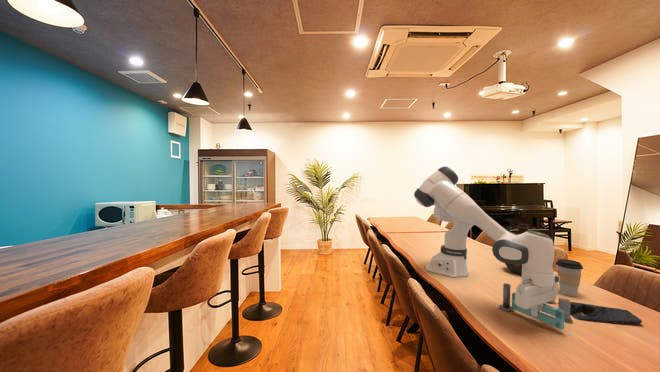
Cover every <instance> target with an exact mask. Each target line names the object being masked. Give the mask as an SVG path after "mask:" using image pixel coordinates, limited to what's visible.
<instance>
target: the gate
mask: <svg viewBox="0 0 660 372" xmlns="http://www.w3.org/2000/svg"><path fill="white" fill-rule="evenodd" d="M515 294H516V292H513V293H511V307H512V309H514V311H516V312H519V313H521V314H524V315H525V316H529V317H531V318H533V319H536V320H537V321H540V322H542V323H545V324H548V325H549V326H552V327H554V328H556V329H559V330H561V331H562V330H564V329H565V322H564V319H565V311H563V310H560V309H558V308H556V307H554V306H552V305H550V304H547V303H544V304H543V307H542V309H541V311H540V316H537V317H535V316H532V315H531V309H530V308H529V309H523V308H521V307H518V306H516V304H515Z"/></svg>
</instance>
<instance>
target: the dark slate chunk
mask: <svg viewBox="0 0 660 372" xmlns="http://www.w3.org/2000/svg"><path fill="white" fill-rule="evenodd" d="M570 302H571V307H570V316H572V317H574V318H575V319H577V320H581V321H590V322H599V323H611V324H612V323H613V324H614V323H616V324H623V325H628V324H629V325H631V324H632V325H635V324H642V319H641V318H640V317H638V316H636V315H635V314H633V312H630V311H629V310H627V309H623V308H616V307H608V306H601V305H595V304H589V303H583V302H577V301H570ZM556 303H557V302H556ZM557 305H559V302H558V303H557Z"/></svg>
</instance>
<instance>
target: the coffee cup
mask: <svg viewBox="0 0 660 372" xmlns="http://www.w3.org/2000/svg"><path fill="white" fill-rule="evenodd" d="M555 265H556V266H557V276H559V277H560V281H559V282H558V287H559V292H560V293H561V294H562V295H564V296H569V297H577V296H578V294H579V293H578V291H579V287H580V283H581V277H582V270H584V266H583V265H582V263H581V262H579V261H576V260H572V259H567V258H566V259H565V258H559V259H557V261H555Z"/></svg>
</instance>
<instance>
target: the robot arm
mask: <svg viewBox="0 0 660 372" xmlns="http://www.w3.org/2000/svg"><path fill="white" fill-rule="evenodd" d="M458 182H459V175H458V174H457V172H456V171H455V170H454V169H452V168H450V167H448V166H442V167H440V168H438V169H437V171H434V173H432V174H431V175H430V176H428V178H426V179H424V181H422V184H421V185H420V186H419V187H418V188H416V190H415V191H414V194H413V196H414V198H415V200H416V202H417V203H418V204H419V205H420V206H423V207H424V208H430V207H432V206H434V208H433V215H434V217H435V218H436V219H437V220H440V221H442V222H447V223H451V224H452V223H453V225H452V228H450V229H448V230H446V232H445V233H444V244H442V245H441V246H440V252H438V253H436V254H435V255H433V256H432V257H431V258H430V261H429V263H428V264H426V265H425V268H424V269H425V270H426V271H427V272H431V273H435V274H439V275H442V276H446V277H450V278H457V277H460V278H462V277H467V276H469V274H470V273H469V270H468V265H467V259H468V248H467V238H468V234H469V231H470V230H471V229H472V227H473V226H476V227H478V228H479V229H480V230H481V231H482V232H484V233H485V234H486V235H487V236H489V237H490V238H491V239H492V240H493V241H494V243H493V245H492V248H491V251H492V255H493V256H494V258H495V259H496V260H497V261H499V262H501V263H503V264H505V263H506V264H522V275H521V281H520V283H519V284H517V286H516V289H515V293H516V294H515V304H516V306H518V307H521V308H523V309H529V308H530V309H531V315H532V316H535V317H537V316H540V312H542V311H541V309H542V307H543V304H547V302H550V301H553V300H554V301H556V299H557V297H558V295H559V293H558V292H559V281H560V277H559V276H558V274H555V273H554V267H553V263H554V260H555V245H554V241H553V240H554V239H552V237H550V236H549V235H548V234H546V233H543V232H540V231H535V230H528V231H526V232H524V233H522V234H519V235H518V233H514V232H511V231H509V230H508V229H506V228H505V227H504V226H502V225H501V224H500V223H499V222H497V221H496V220H495V219H493V217H492V216H490V215H488V214H487V213H486V212H485V211H484V209H482V208H481V207H480V206H479V205H478V204H477V203H476V201H474V199H473V198H471V197H470V196H469V195H468V194H467V193H466V192H464V190H462V189H461V188H460V187H458V186H457V183H458ZM506 264H505V265H506Z"/></svg>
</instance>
